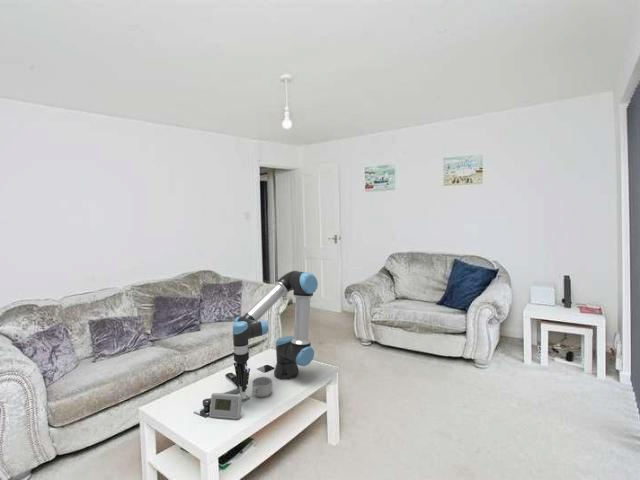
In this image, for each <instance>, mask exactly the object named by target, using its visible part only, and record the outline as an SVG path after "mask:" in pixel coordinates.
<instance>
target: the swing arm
mask: <svg viewBox="0 0 640 480" xmlns="http://www.w3.org/2000/svg"><path fill="white" fill-rule="evenodd" d="M224 393H227V394H236V395H240V387H239V386H238V387H236V388H234V389H232V390H229V391H226V392H224ZM210 404H211V397H210V398H205V399H203V400H202V406H203V407H204V406H205V407H206V406H210Z"/></svg>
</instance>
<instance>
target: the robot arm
mask: <svg viewBox="0 0 640 480" xmlns="http://www.w3.org/2000/svg"><path fill="white" fill-rule="evenodd" d="M318 284H319V283H318V279H317V277H316V276H315V275H314V274H313V273H310V272H306V271H299V270H291V271H288V272H287V273H285V274H283V276H281V277H280V278H278V279H277V281H275V284H274V286H273V287H272V288H271V289H270V290H269V291H267V292H266V293H265V294H264V295H263V296H262V298H260V299H259V301H257V302H256V303H255V304H254V305H253V306H252V307H251V308H250V309H249V310H248V311H247V312H246V313H245V314H244V315H243V316H242V315H241V316H237V317H236V318H235V319H234V322H233V325H232V341H233V342H232V343H233V348H232V350H233V360H234V363H233V365H234V370H235V378H236V382H237V383H238V385H239V386H238V387H240V394H239V395H241V396H242V398H243V397H246V395H247V391H246V390H247V388H246V386H247V385H249V378H250V372H251V368H250V367H249V368H248V363H247V362H248V361H249V359H250V357H249V355H250V353H249V351H250V348H249V340H250V339H254V338H258V337H263V336H264V335H267V334H268V333H269V325H268V323H267V321H266V320H260V319H261V318H262V317H263V316H264V315H265V314H266V313H267V312H268V311H269V310H270V309H271V308H272V307H273V306H274V305H275V304H276V303H277V302H278V301H279V299H281V298H282V297H283V296H284V295H287V294H289V292H291V291H293V294H292V295H293V296H294V297H295V306H294V308H295V309H294V313H295V314H294V327H293V336H292V335H291V336H290V335H289V336H287V335H286V336H283V337H278V338H277V339H276V342H275V350H276V351H275V353H276V364H275V367H274V372H273V377H275V378H276V379H278V380H282V379H283V380H284V379H287V380H292V379H291V378H293V379H295V378H297V377H298V376H299V375H298V374H299V368H298V366H300V367H306V366H309V364H311V362H312V361H313V360H314V357H315V350H314V348H313V347H312V346H311V344H312V343H311V340H310V338H309V333H310V332H309V331H310V313H311V312H310V311H311V299H312V297H314V293H315V292H316V290H317V289H318V286H319V285H318ZM297 375H298V376H297ZM296 376H297V377H296ZM294 377H295V378H294ZM283 380H282V381H283Z"/></svg>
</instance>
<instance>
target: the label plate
mask: <svg viewBox="0 0 640 480" xmlns="http://www.w3.org/2000/svg"><path fill="white" fill-rule="evenodd" d="M249 400H251V397H250V396H249V395H247V394H246V397H243V398H242V403H243V402H246V401H249Z"/></svg>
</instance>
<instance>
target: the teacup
mask: <svg viewBox="0 0 640 480" xmlns="http://www.w3.org/2000/svg"><path fill="white" fill-rule="evenodd" d="M272 389H273V379H272V378H271V377H269V376H259V377H255V378H254V379H253V380H252V394H253V395H255V396H257V397H258V398H265V397H267V396H269V395H270V394H271V393H272Z"/></svg>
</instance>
